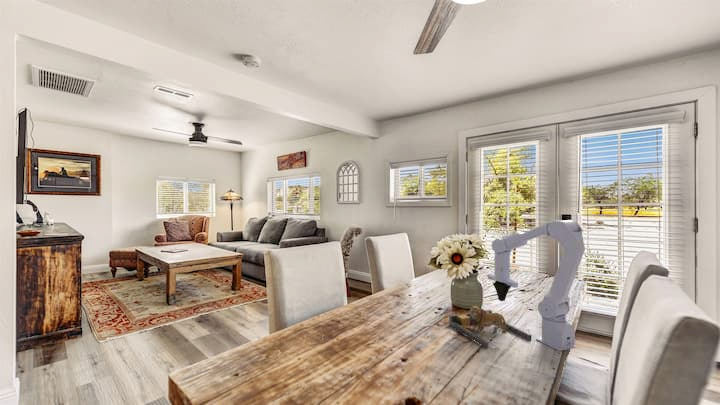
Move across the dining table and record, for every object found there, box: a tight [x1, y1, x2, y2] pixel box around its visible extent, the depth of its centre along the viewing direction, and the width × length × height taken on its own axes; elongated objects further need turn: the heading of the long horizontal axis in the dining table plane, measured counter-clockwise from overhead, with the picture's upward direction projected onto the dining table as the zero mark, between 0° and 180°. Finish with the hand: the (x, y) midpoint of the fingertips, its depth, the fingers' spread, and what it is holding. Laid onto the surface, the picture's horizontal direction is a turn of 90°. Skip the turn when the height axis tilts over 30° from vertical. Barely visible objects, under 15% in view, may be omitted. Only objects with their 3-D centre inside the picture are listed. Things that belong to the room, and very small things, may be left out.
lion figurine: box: [469, 305, 509, 334], centre depth 119 cm, size 15×5×9 cm, turn 83°
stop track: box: [448, 309, 532, 349], centre depth 117 cm, size 21×20×4 cm
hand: (501, 300), depth 126 cm, fingers closed
